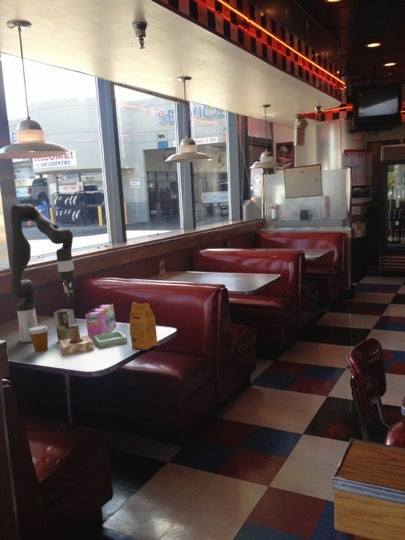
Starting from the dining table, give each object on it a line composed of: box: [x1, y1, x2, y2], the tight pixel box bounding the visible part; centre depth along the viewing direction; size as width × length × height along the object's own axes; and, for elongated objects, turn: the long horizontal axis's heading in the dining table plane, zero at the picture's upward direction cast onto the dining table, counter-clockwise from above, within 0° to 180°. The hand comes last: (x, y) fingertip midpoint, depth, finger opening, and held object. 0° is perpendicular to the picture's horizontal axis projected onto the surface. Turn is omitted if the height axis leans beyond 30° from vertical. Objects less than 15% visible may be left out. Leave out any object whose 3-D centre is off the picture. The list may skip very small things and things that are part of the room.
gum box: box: [85, 303, 117, 340], centre depth 275 cm, size 24×8×14 cm, turn 170°
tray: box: [92, 330, 128, 349], centre depth 254 cm, size 14×14×3 cm
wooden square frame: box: [59, 334, 95, 356], centre depth 248 cm, size 14×14×4 cm
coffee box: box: [53, 308, 77, 342], centre depth 265 cm, size 9×6×16 cm
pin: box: [69, 323, 81, 344], centre depth 247 cm, size 5×5×12 cm
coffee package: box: [129, 301, 159, 351], centre depth 239 cm, size 10×12×22 cm
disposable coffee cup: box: [29, 324, 49, 353], centre depth 250 cm, size 10×10×12 cm
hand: (70, 302), depth 244 cm, fingers open, 8 cm apart
